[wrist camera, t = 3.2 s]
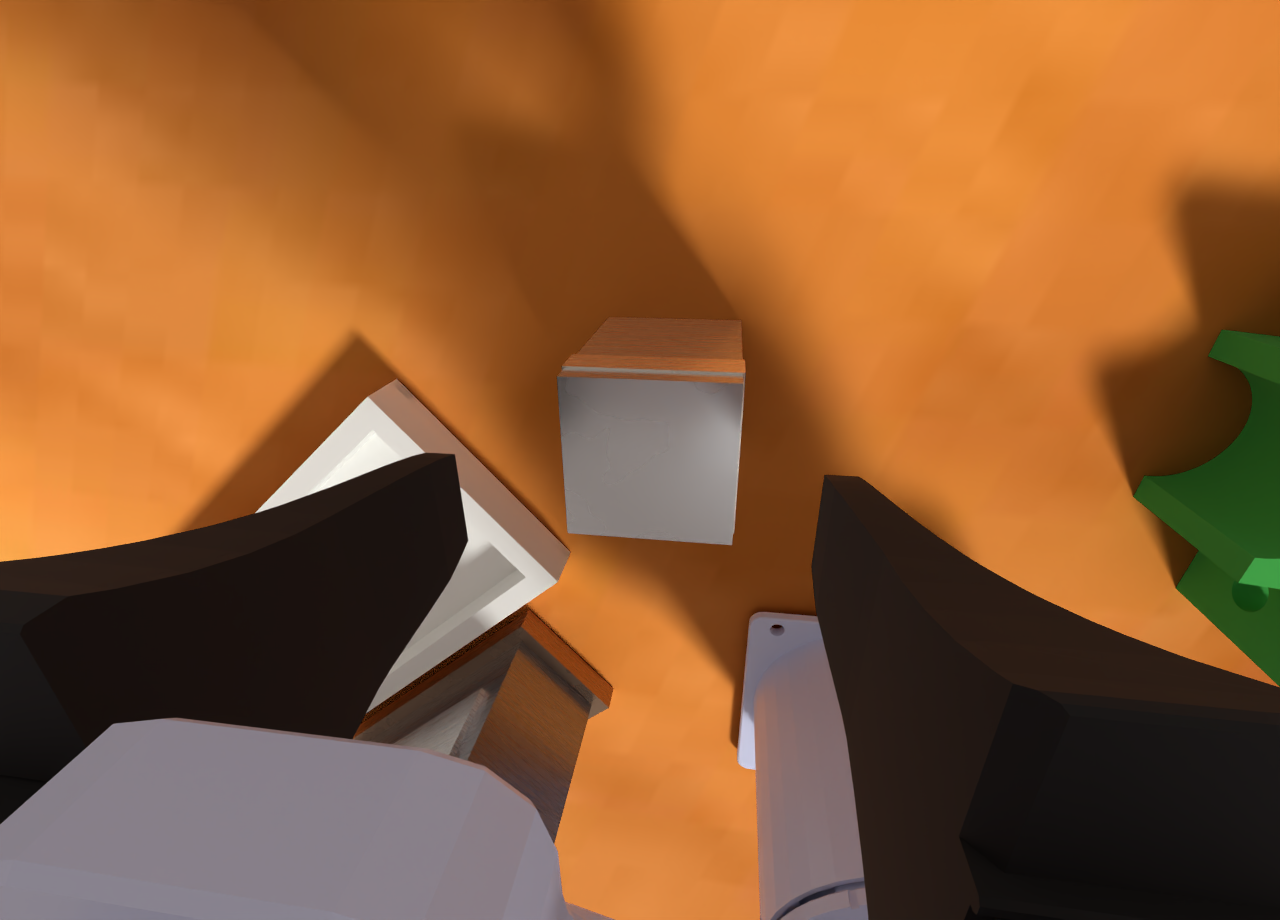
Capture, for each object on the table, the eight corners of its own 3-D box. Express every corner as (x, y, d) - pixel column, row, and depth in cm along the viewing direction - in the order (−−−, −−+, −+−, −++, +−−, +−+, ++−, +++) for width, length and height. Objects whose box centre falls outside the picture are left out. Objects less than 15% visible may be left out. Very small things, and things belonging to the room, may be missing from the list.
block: (743, 318, 18) (745, 381, 12) (734, 444, 20) (734, 546, 14) (607, 315, 18) (554, 373, 13) (610, 438, 20) (565, 534, 15)
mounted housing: (529, 609, 24) (456, 765, 18) (613, 688, 25) (572, 860, 19) (346, 733, 29) (238, 889, 23) (424, 794, 30) (342, 958, 24)
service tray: (396, 378, 20) (367, 396, 19) (570, 552, 22) (557, 581, 21) (186, 594, 26) (150, 621, 25) (338, 715, 28) (314, 748, 27)
